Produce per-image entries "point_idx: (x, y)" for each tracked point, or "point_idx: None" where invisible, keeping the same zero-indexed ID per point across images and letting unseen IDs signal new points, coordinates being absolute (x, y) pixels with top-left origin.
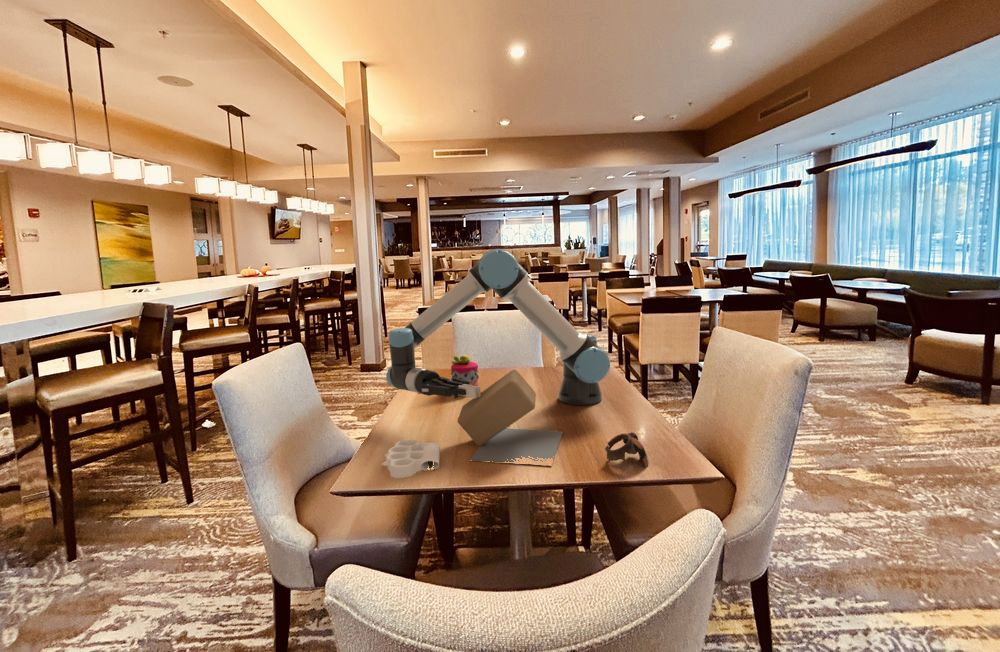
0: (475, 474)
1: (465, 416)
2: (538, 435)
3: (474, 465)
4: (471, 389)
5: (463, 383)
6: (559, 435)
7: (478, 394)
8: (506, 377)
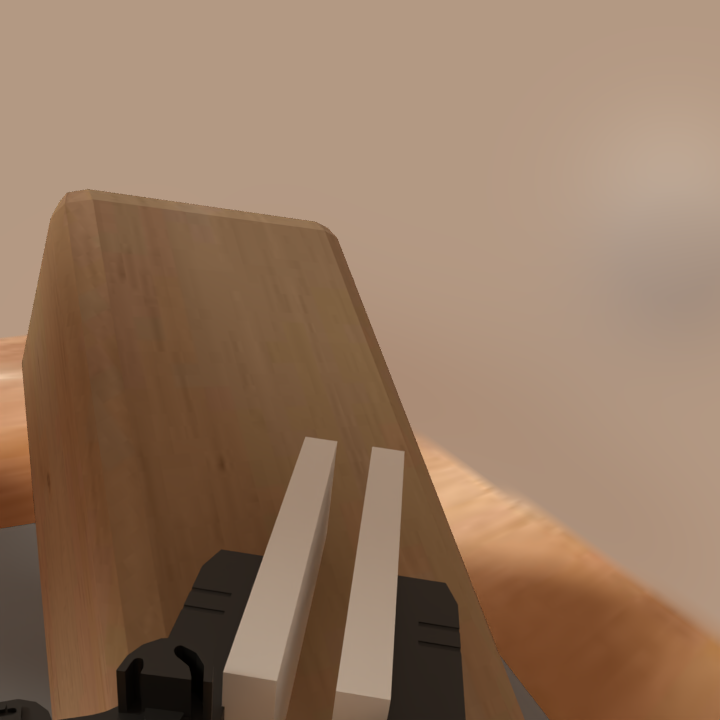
0: (625, 638)
1: (508, 689)
2: (36, 603)
3: (573, 695)
4: (402, 486)
5: (206, 692)
6: (21, 531)
7: (327, 513)
8: (192, 255)
